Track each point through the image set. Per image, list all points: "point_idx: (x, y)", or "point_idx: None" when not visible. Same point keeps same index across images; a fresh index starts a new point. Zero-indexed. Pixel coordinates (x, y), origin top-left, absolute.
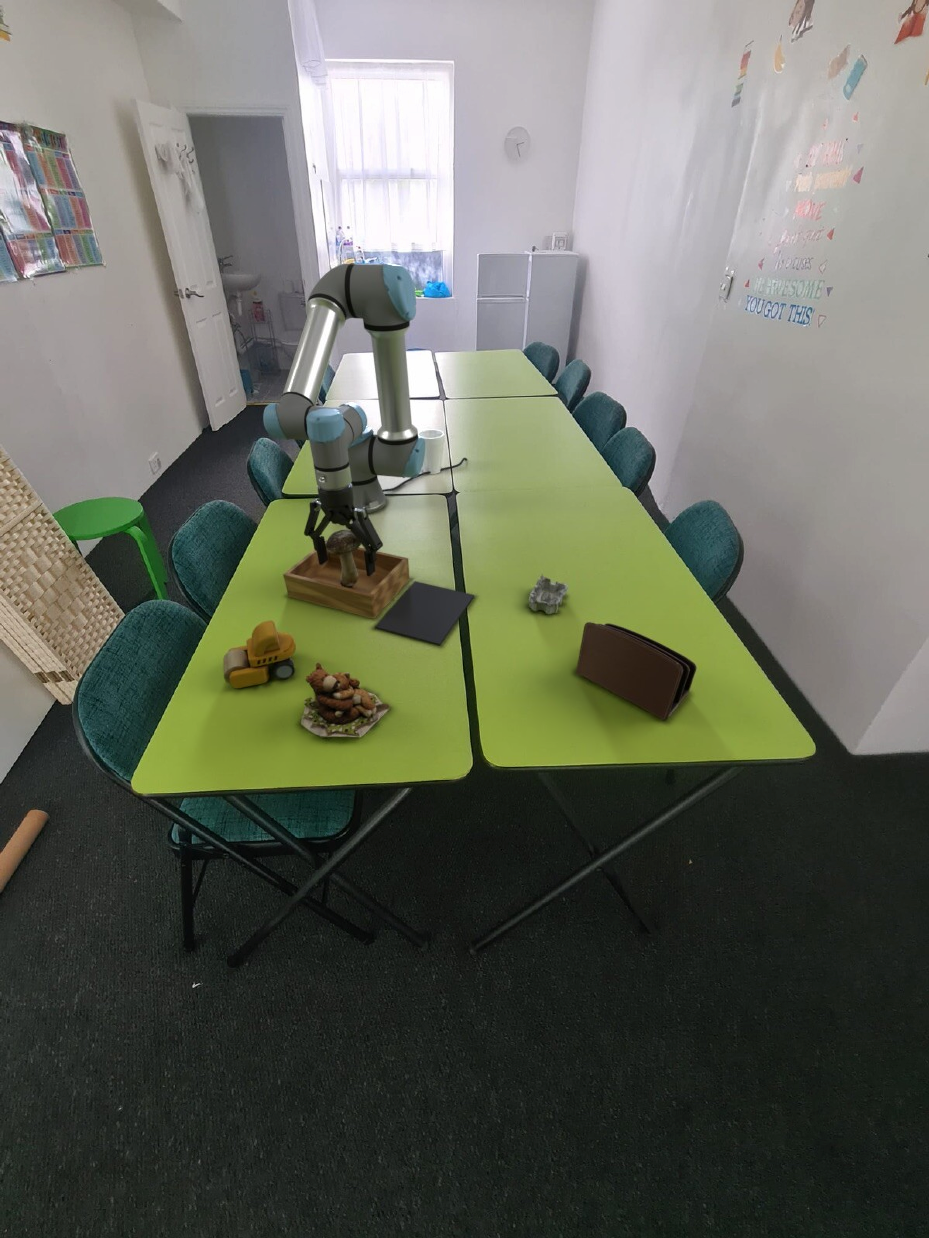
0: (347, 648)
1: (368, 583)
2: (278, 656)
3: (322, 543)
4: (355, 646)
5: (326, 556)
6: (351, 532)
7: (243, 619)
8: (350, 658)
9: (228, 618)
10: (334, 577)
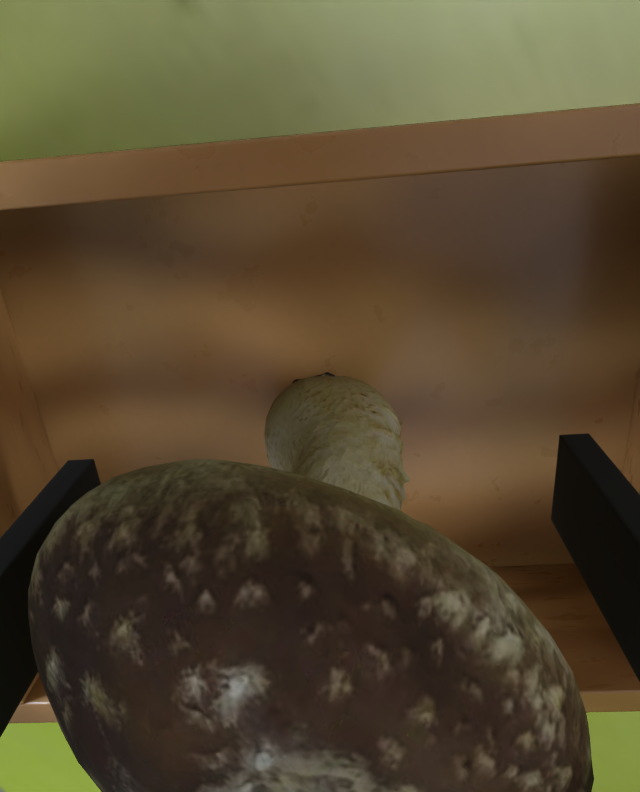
0: (593, 747)
1: (422, 317)
2: None
3: (5, 632)
4: (622, 731)
5: (79, 494)
6: (398, 763)
7: (68, 759)
8: (634, 779)
9: (12, 771)
10: (161, 360)
